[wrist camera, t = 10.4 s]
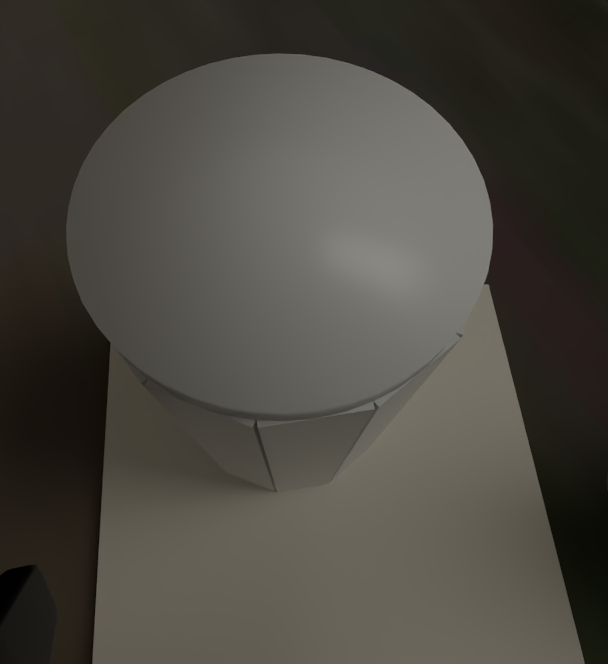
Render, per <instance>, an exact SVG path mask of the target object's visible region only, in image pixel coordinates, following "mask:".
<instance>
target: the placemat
mask: <svg viewBox="0 0 608 664" xmlns="http://www.w3.org/2000/svg"><path fill="white" fill-rule="evenodd" d="M92 664H585V663H584V659H583V655H582V651H581V647H580V643H579V639H578V635H577V631H576V627H575V623H574V620H573V616H572V612H571V608H570V604H569V600H568V596H567V592H566V588H565V584H564V580H563V576H562V572H561V568H560V564H559V561H558V557H557V553H556V549H555V545H554V541H553V537H552V533H551V529H550V525H549V521H548V517H547V513H546V509H545V505H544V502H543V498H542V494H541V490H540V486H539V482H538V478H537V474H536V470H535V466H534V462H533V458H532V454H531V450H530V447H529V443H528V439H527V435H526V431H525V427H524V423H523V419H522V415H521V411H520V407H519V403H518V399H517V395H516V391H515V388H514V384H513V380H512V376H511V372H510V368H509V364H508V360H507V356H506V352H505V348H504V344H503V340H502V336H501V332H500V329H499V325H498V321H497V317H496V313H495V309H494V305H493V301H492V297H491V293H490V289H489V285H483V287H482V290H481V293H480V296H479V298H478V299H477V301H476V303H475V305H474V307H473V309H472V310H471V312H470V314H469V316H468V319H467V323H466V326H465V330H464V334H463V336H462V337H461V339H460V340H459V341H458V342H457V344H456V345H455V346H454V347H453V348H452V350H451V351H450V352H449V353H448V354H447V356H446V357H445V358H444V359H443V360H442V362H441V363H440V364H439V365H438V366H437V368H436V369H435V370H434V371H433V372H432V374H431V375H430V376H429V377H428V378H427V380H426V381H425V382H424V383H423V384H422V386H421V387H420V388H419V389H418V390H417V392H416V393H415V394H414V395H413V396H412V398H411V399H410V400H409V401H408V402H407V404H406V405H405V406H404V407H403V408H402V410H401V411H400V412H399V413H398V414H397V416H396V417H395V418H394V419H393V420H392V422H391V423H390V424H389V425H388V426H387V428H386V429H385V430H384V431H383V432H382V434H381V435H380V436H379V437H378V438H377V440H376V441H375V442H374V443H373V444H372V446H371V447H370V448H369V449H368V450H367V451H366V452H365V453H364V454H362V455H361V456H360V457H359V458H358V459H357V460H356V461H354V462H353V463H352V464H351V465H350V466H349V467H347V468H346V469H345V470H344V471H343V472H342V473H341V474H339V475H338V476H337V477H336V478H335V479H334V480H332V481H331V482H329V483H327V484H322V485H316V486H310V487H304V488H298V489H292V490H286V491H281V492H277V490H275V492H274V491H272V490H269V489H266V488H264V487H261V486H259V485H256V484H254V483H251V482H249V481H246V480H244V479H241V478H239V477H236V476H234V475H231V474H229V473H227V472H226V471H224V470H223V469H222V468H221V466H220V465H219V464H218V463H217V462H216V461H215V460H214V459H213V458H212V457H211V456H210V455H209V454H208V453H207V452H206V451H205V450H204V449H203V448H202V447H201V446H200V445H199V443H198V442H197V441H196V440H195V439H194V438H193V437H192V436H191V435H190V434H189V433H188V432H187V431H186V430H185V429H184V428H183V427H182V426H181V425H180V424H179V423H178V422H177V420H176V419H175V418H174V417H173V416H172V415H171V414H170V413H169V412H168V411H167V410H166V409H165V408H164V407H163V406H162V405H161V404H160V403H159V402H158V401H157V400H156V399H155V397H154V396H153V395H152V394H151V393H150V392H149V391H148V390H147V389H146V388H145V387H144V386H143V385H142V384H141V383H140V381H139V380H138V379H137V377H136V376H135V375H134V373H133V372H132V370H131V369H130V368H129V366H128V365H127V364H126V362H125V361H124V359H123V358H122V357H121V355H120V354H119V353H118V351H117V350H116V348H115V347H114V346H113V345H112V344H111V345H110V362H109V380H108V397H107V415H106V432H105V450H104V468H103V485H102V503H101V520H100V538H99V555H98V573H97V590H96V608H95V626H94V643H93V661H92Z"/></svg>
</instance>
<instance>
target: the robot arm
mask: <svg viewBox="0 0 608 664" xmlns="http://www.w3.org/2000/svg"><path fill="white" fill-rule="evenodd" d="M607 490H608V476H607ZM57 615H58V613H57V606H56V602H55V600H54V597H53V595H52V593H51V590H50V588H49V586H48V584H47V581H46V579H45V577H44V574H43V572H42V570H41V569H40V568H39V567H38V566H37V565H27V566H23V567H18V568H13V569H10V570H7V571H5V572H4V573H3V574H1V575H0V664H50V663H51V657H52V651H53V644H54V638H55V632H56V626H57Z"/></svg>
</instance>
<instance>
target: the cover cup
mask: <svg viewBox="0 0 608 664" xmlns="http://www.w3.org/2000/svg"><path fill="white" fill-rule="evenodd" d="M66 238H67V253H68V259H69V264H70V268H71V272H72V276H73V280H74V283H75V285H76V288H77V290H78V293H79V295H80V298H81V300H82V301H81V302H82V303H83V305H84V306H85V308H86V309H87V311H88V313H89V314H90V316H91V317H92V319H93V321H94V322H95V324H96V326H97V327H98V328H99V330H100V331H101V332H102V333H103V334H104V335H105V337H106V338H107V339H108V340H109V341H110V342H111V344H112V345H113V346H114V347H115V348H116V350H117V351H118V353H119V354H120V355H121V357H122V358H123V359H124V361H125V362H126V364H127V365H128V366H129V368H130V369H131V370H132V372H133V373H134V375H135V376H136V377H137V379H138V380H139V381H140V383H141V384H142V385H143V386H144V387H145V388H146V389H147V390H148V391H149V392H150V393H151V394H152V395H153V396H154V397H155V399H156V400H157V401H158V402H159V403H160V404H161V405H162V406H163V407H164V408H165V409H166V410H167V411H168V412H169V413H170V414H171V415H172V416H173V417H174V418H175V419H176V420H177V422H178V423H179V424H180V425H181V426H182V427H183V428H184V429H185V430H186V431H187V432H188V433H189V434H190V435H191V436H192V437H193V438H194V439H195V440H196V441H197V442H198V443H199V445H200V446H201V447H202V448H203V449H204V450H205V451H206V452H207V453H208V454H209V455H210V456H211V457H212V458H213V459H214V460H215V461H216V462H217V463H218V464H219V465H220V466H221V468H222V469H223V470H224V471H226V472H227V473H229V474H231V475H234V476H236V477H239V478H241V479H244V480H246V481H249V482H251V483H254V484H256V485H259V486H261V487H264V488H266V489H269V490H272V491H274V492H275V490H277V492H281V491H286V490H292V489H298V488H304V487H310V486H316V485H322V484H327V483H329V482H331V481H332V480H334V479H335V478H336V477H337V476H338V475H339V474H341V473H342V472H343V471H344V470H345V469H346V468H347V467H349V466H350V465H351V464H352V463H353V462H354V461H356V460H357V459H358V458H359V457H360V456H361V455H362V454H364V453H365V452H366V451H367V450H368V449H369V448H370V447H371V446H372V444H373V443H374V442H375V441H376V440H377V438H378V437H379V436H380V435H381V434H382V432H383V431H384V430H385V429H386V428H387V426H388V425H389V424H390V423H391V422H392V420H393V419H394V418H395V417H396V416H397V414H398V413H399V412H400V411H401V410H402V408H403V407H404V406H405V405H406V404H407V402H408V401H409V400H410V399H411V398H412V396H413V395H414V394H415V393H416V392H417V390H418V389H419V388H420V387H421V386H422V384H423V383H424V382H425V381H426V380H427V378H428V377H429V376H430V375H431V374H432V372H433V371H434V370H435V369H436V368H437V366H438V365H439V364H440V363H441V362H442V360H443V359H444V358H445V357H446V356H447V354H448V353H449V352H450V351H451V350H452V348H453V347H454V346H455V345H456V344H457V342H458V341H459V340H460V339H461V337H462V336H463V334H464V330H465V326H466V323H467V319H468V316H469V314H470V312H471V310H472V309H473V307H474V305H475V303H476V301H477V299H478V298H479V296H480V293H481V290H482V287H483V284H484V282H485V279H486V276H487V273H488V269H489V263H490V258H491V252H492V238H493V222H492V215H491V207H490V201H489V197H488V194H487V190H486V187H485V183H484V180H483V178H482V175H481V173H480V171H479V169H478V166H477V164H476V162H475V160H474V158H473V156H472V155H471V153H470V152H469V150H468V148H467V147H466V145H465V144H464V142H463V140H462V139H461V138H460V137H459V135H458V134H457V133H456V132H455V131H454V129H453V128H452V127H451V126H450V124H449V123H448V122H447V121H446V120H445V119H444V118H443V117H442V116H441V115H440V114H438V113H437V112H436V111H435V110H434V109H433V108H432V107H431V106H430V105H428V104H427V103H426V102H424V101H423V100H422V99H421V98H419V97H418V96H417V95H415V94H414V93H412V92H411V91H409V90H407V89H406V88H404V87H402V86H401V85H399V84H397V83H396V82H394V81H392V80H390V79H388V78H386V77H383V76H381V75H379V74H377V73H375V72H373V71H370V70H367V69H364V68H361V67H358V66H355V65H352V64H350V63H345V62H341V61H337V60H333V59H329V58H323V57H316V56H308V55H298V54H263V55H251V56H244V57H237V58H231V59H227V60H223V61H219V62H215V63H211V64H207V65H204V66H202V67H199V68H196V69H193V70H190V71H187V72H185V73H183V74H181V75H179V76H176V77H174V78H172V79H170V80H168V81H166V82H164V83H162V84H161V85H159V86H157V87H156V88H154V89H153V90H151V91H149V92H148V93H146V94H144V95H143V96H142V97H140V98H139V99H138V100H137V101H135V102H134V103H133V104H131V105H130V106H129V107H128V108H126V109H125V110H124V111H123V112H122V113H121V114H120V115H119V116H118V117H117V118H116V119H115V120H114V121H113V122H112V123H111V124H110V125H109V126H108V127H107V129H106V130H105V131H104V132H103V134H102V135H101V136H100V138H99V139H98V140H97V141H96V143H95V144H94V146H93V147H92V149H91V151H90V152H89V154H88V156H87V158H86V159H85V161H84V163H83V165H82V167H81V169H80V172H79V174H78V177H77V179H76V181H75V184H74V187H73V191H72V195H71V199H70V203H69V207H68V216H67V227H66Z"/></svg>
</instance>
